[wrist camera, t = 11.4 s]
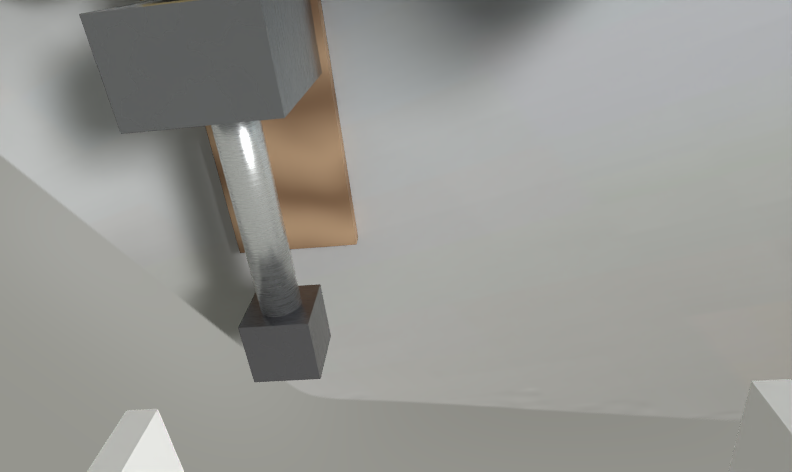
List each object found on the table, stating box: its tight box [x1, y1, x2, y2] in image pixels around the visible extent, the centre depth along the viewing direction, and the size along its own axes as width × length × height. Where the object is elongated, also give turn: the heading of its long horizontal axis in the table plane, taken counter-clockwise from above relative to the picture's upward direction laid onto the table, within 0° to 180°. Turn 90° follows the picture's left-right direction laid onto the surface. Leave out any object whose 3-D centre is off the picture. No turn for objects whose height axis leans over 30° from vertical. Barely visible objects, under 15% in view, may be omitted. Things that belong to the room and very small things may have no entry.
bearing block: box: [79, 0, 322, 134], centre depth 33 cm, size 6×9×12 cm, turn 96°
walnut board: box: [205, 0, 358, 253], centre depth 40 cm, size 26×10×1 cm, turn 6°
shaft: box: [211, 120, 331, 382], centre depth 37 cm, size 25×5×5 cm, turn 6°
